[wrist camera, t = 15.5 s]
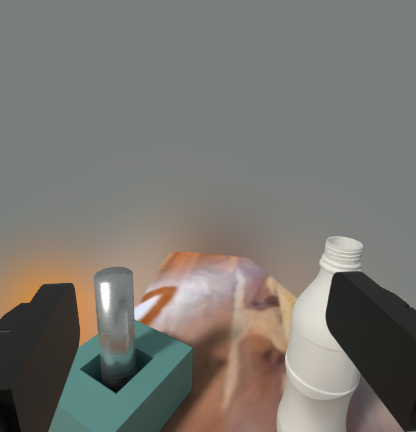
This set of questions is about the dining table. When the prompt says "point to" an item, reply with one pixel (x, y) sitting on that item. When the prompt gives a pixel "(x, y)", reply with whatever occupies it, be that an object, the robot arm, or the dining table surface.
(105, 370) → the steel post
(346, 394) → the water bottle
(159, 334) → the well block
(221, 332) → the dining table surface
